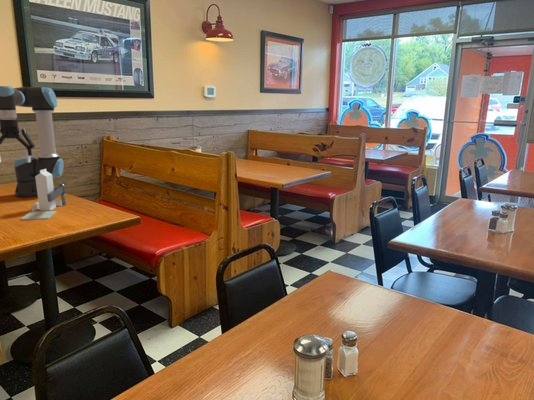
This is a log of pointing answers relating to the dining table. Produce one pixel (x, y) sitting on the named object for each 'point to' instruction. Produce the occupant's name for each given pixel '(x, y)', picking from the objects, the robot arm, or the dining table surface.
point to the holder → (59, 203)
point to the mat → (38, 215)
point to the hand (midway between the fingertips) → (14, 162)
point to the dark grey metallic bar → (56, 192)
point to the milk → (44, 190)
